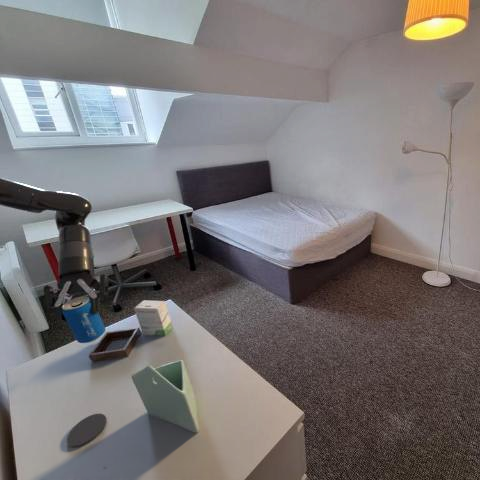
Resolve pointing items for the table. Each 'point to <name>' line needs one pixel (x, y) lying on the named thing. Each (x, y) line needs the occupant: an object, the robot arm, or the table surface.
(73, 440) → the coaster
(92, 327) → the beverage can
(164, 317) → the ink box
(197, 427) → the planter
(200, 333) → the table surface
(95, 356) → the tray
